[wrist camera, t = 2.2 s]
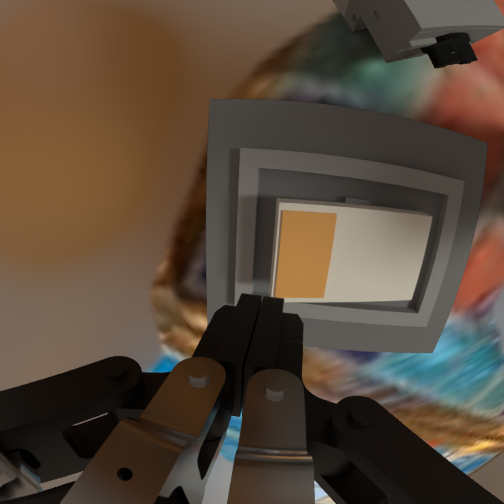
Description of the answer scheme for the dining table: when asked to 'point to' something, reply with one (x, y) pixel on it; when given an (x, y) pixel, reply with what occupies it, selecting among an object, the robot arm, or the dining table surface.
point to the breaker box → (342, 191)
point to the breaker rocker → (346, 252)
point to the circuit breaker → (424, 27)
